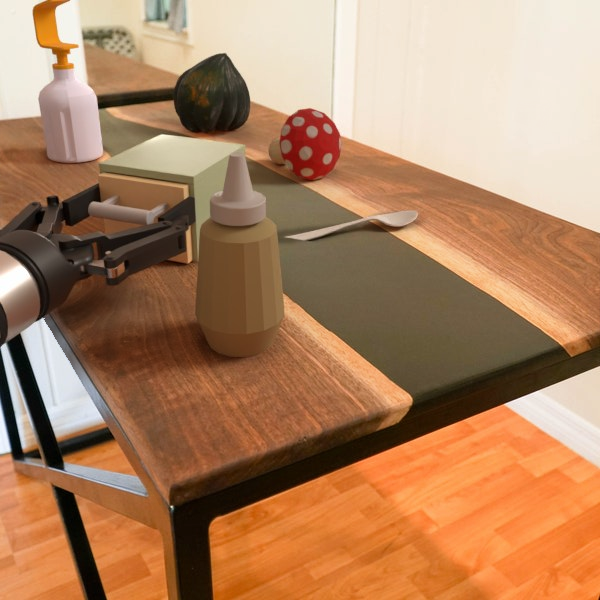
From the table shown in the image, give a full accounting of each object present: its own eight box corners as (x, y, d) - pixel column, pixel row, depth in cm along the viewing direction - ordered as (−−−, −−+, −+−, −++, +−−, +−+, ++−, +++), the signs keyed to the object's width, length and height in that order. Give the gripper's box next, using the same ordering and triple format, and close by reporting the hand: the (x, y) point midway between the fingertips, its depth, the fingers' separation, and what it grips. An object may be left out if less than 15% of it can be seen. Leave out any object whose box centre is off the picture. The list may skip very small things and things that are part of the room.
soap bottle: (75, 167, 106) (51, 0, 94) (36, 158, 110) (8, -3, 98) (114, 154, 113) (97, -3, 101) (76, 146, 117) (55, -6, 105)
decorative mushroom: (258, 107, 109) (309, 89, 97) (309, 137, 115) (363, 124, 103) (237, 168, 108) (287, 158, 95) (289, 196, 114) (343, 189, 102)
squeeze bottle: (276, 319, 65) (277, 139, 57) (292, 364, 58) (297, 167, 50) (193, 326, 64) (182, 142, 55) (200, 374, 57) (189, 172, 48)
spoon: (424, 227, 88) (425, 215, 87) (281, 250, 80) (282, 237, 79) (407, 216, 91) (408, 205, 90) (269, 237, 83) (269, 225, 82)
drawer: (166, 282, 70) (160, 202, 65) (81, 265, 73) (70, 188, 68) (234, 224, 84) (233, 156, 80) (161, 212, 87) (156, 146, 83)
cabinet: (198, 268, 75) (193, 176, 70) (109, 251, 78) (98, 163, 73) (246, 225, 86) (245, 144, 81) (167, 212, 90) (161, 133, 85)
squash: (146, 102, 124) (190, 43, 116) (187, 92, 136) (230, 38, 128) (196, 160, 125) (244, 105, 117) (233, 144, 137) (278, 93, 129)
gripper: (-90, 301, 60) (63, 218, 78) (132, 352, 53) (242, 249, 72) (-113, 224, 56) (54, 156, 74) (123, 269, 50) (241, 182, 68)
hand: (146, 201), depth 73 cm, fingers closed on cabinet, drawer, 11 cm apart
